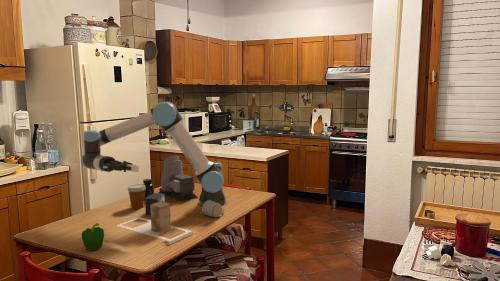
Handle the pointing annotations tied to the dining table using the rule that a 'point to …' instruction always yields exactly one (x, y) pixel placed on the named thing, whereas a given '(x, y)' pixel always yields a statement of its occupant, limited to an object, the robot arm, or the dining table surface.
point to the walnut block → (160, 217)
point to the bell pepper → (93, 237)
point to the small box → (153, 201)
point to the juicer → (176, 181)
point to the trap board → (147, 230)
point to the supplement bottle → (148, 187)
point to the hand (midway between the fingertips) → (137, 168)
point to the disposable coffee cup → (137, 195)
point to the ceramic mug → (212, 209)
